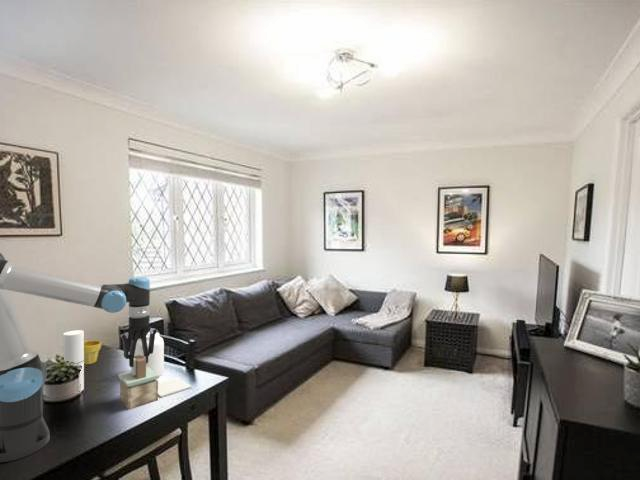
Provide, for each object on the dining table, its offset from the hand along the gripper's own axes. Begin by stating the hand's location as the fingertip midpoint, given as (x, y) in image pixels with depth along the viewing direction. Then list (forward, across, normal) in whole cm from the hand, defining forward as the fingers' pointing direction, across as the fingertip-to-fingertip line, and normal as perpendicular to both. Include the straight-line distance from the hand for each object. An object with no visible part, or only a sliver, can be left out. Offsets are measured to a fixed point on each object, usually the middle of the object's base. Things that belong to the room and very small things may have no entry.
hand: (138, 372), depth 141 cm
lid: (+4, 0, 0) cm, 4 cm away
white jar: (+11, +12, +22) cm, 27 cm away
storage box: (+11, 0, 0) cm, 11 cm away
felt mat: (+11, +14, +2) cm, 18 cm away
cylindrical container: (+12, -17, +27) cm, 34 cm away
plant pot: (+12, -5, +59) cm, 60 cm away
